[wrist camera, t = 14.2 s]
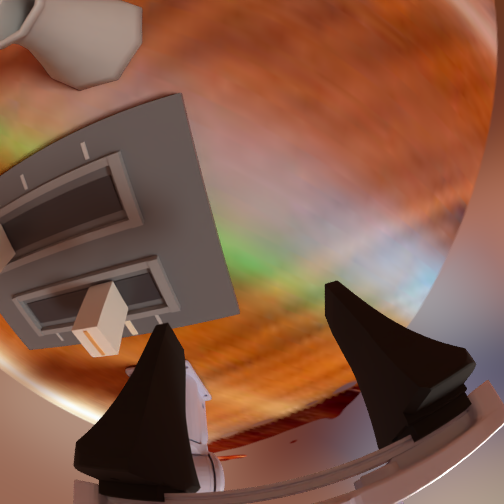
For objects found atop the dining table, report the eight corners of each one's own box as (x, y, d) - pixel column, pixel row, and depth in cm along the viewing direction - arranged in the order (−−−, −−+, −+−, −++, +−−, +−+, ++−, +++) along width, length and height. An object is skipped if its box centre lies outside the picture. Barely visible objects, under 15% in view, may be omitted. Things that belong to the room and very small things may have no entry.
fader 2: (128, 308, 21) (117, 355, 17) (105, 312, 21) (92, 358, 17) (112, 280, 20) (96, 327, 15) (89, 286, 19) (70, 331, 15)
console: (238, 304, 25) (240, 318, 23) (32, 342, 24) (28, 353, 22) (181, 93, 15) (179, 92, 13) (-45, 213, 14) (-55, 221, 12)
